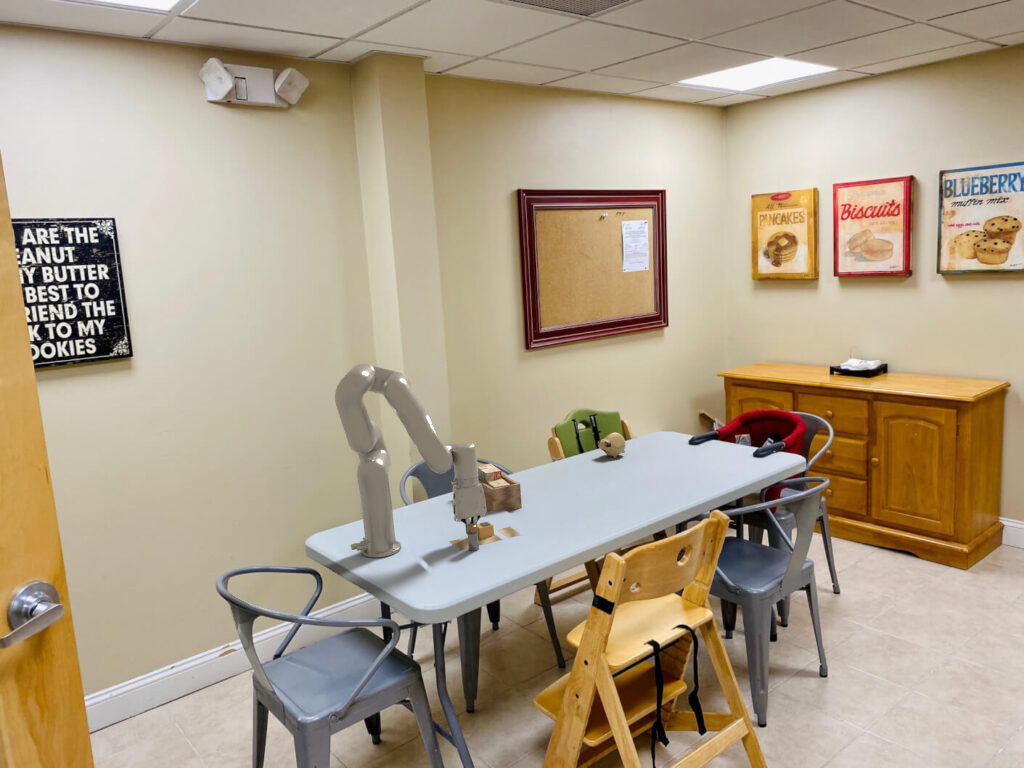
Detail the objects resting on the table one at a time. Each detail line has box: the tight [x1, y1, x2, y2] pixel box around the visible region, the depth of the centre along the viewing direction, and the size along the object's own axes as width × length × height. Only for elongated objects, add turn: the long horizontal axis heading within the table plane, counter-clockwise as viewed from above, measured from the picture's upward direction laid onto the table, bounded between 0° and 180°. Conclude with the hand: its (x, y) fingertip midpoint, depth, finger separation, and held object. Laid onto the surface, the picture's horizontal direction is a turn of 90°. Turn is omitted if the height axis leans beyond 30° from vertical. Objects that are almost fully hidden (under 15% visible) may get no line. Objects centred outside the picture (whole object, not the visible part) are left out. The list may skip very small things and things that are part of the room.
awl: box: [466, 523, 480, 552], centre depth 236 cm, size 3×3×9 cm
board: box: [449, 526, 522, 551], centre depth 246 cm, size 22×9×1 cm, turn 116°
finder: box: [477, 521, 495, 539], centre depth 248 cm, size 5×4×4 cm
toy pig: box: [597, 431, 626, 459], centre depth 334 cm, size 10×12×11 cm
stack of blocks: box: [478, 463, 510, 489], centre depth 284 cm, size 21×6×12 cm, turn 20°
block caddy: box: [479, 473, 523, 513], centre depth 285 cm, size 11×26×9 cm, turn 26°
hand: (471, 535), depth 246 cm, fingers closed
